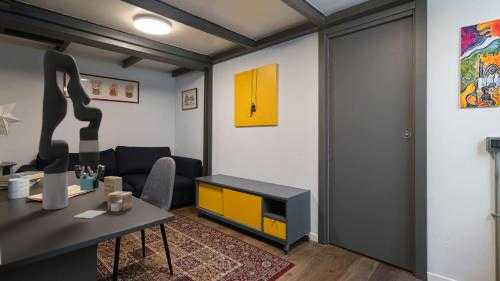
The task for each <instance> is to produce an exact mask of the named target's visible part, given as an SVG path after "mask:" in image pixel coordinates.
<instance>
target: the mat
mask: <svg viewBox="0 0 500 281" xmlns="http://www.w3.org/2000/svg"><path fill="white" fill-rule="evenodd" d="M105 213H107V211H106V210H92V209H91V210H90V209H89V210H86V211H85V212H81V213H78V214H76V215H74V216H73V217H72V218H75V219H90V220H91V219H95V218H96V217H99V216H101V215H103V214H105Z"/></svg>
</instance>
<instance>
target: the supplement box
mask: <svg viewBox="0 0 500 281" xmlns="http://www.w3.org/2000/svg"><path fill="white" fill-rule="evenodd" d="M116 191H118V192H123V177H121V176H120V177H119V176H113V175H112V176H111V175H110V176H105V177H104V176H103V201H104V202H106V203H108V194H110V193H113V192H116ZM120 200H122V197H118V201H120Z"/></svg>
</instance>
